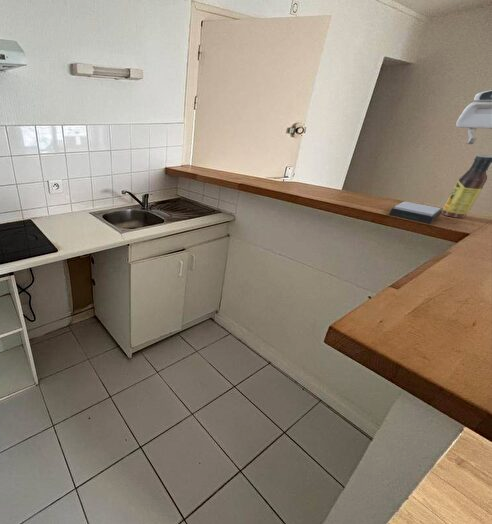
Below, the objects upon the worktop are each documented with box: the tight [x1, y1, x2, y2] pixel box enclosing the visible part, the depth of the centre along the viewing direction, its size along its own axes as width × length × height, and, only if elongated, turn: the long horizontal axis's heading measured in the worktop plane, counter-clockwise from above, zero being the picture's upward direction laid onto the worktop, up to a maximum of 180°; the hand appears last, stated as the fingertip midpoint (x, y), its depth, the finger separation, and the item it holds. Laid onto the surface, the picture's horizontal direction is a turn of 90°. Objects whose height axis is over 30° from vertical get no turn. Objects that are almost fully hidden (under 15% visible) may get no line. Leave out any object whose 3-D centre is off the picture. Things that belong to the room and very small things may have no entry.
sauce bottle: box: [441, 154, 492, 219], centre depth 93 cm, size 6×6×20 cm
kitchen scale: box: [389, 200, 443, 225], centre depth 97 cm, size 11×11×3 cm
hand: (491, 145), depth 87 cm, fingers open, 8 cm apart
